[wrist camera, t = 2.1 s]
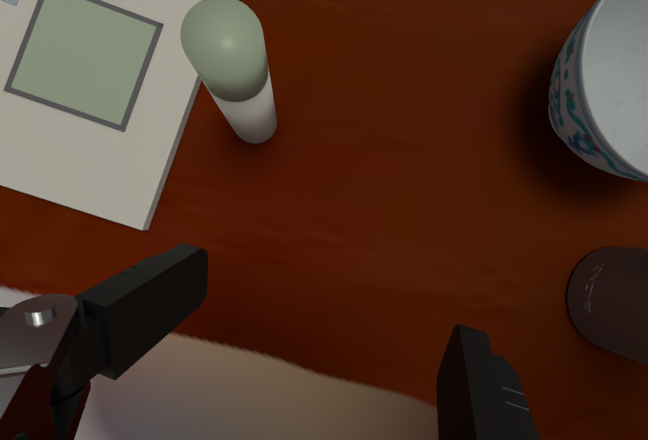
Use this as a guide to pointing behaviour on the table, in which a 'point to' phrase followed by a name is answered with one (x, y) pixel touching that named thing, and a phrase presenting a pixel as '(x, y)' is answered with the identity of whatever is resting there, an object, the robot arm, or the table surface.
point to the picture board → (93, 102)
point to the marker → (232, 64)
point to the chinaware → (605, 89)
